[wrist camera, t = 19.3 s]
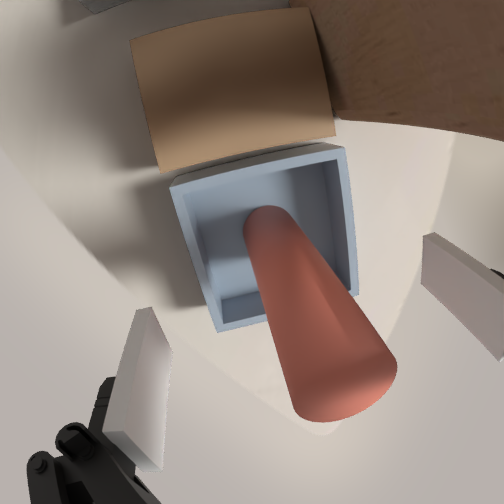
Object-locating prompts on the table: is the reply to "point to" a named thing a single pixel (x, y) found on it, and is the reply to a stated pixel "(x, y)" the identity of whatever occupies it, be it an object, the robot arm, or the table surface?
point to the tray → (249, 199)
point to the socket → (100, 4)
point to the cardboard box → (232, 86)
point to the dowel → (315, 323)
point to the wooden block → (414, 62)
